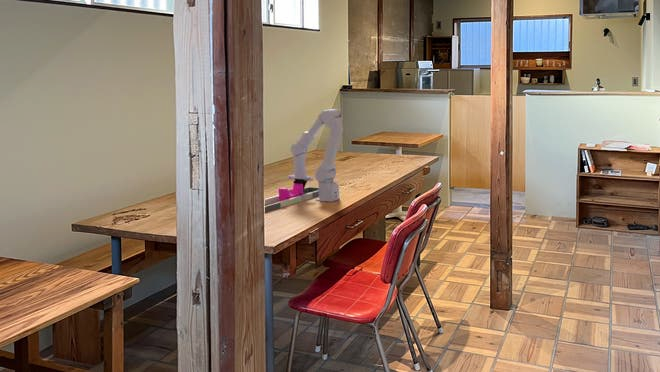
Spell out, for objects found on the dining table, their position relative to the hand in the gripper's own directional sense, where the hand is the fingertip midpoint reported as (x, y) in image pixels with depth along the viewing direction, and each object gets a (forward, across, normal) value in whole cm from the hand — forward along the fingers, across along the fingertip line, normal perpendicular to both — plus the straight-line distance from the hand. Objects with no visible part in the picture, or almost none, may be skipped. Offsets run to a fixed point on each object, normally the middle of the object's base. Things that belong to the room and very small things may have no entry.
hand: (300, 194), depth 346 cm
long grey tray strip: (+2, 0, +10) cm, 11 cm away
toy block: (+2, -1, +10) cm, 10 cm away
